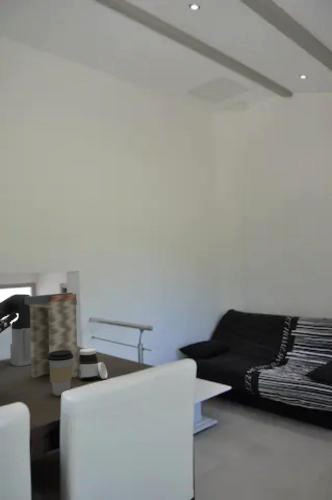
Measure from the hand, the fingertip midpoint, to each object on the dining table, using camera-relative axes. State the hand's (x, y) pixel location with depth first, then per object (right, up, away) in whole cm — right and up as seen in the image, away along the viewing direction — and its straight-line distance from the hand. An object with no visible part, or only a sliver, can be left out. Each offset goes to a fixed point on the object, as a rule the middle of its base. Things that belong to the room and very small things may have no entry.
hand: (10, 313), depth 162 cm
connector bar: (+11, +3, +13) cm, 18 cm away
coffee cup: (+21, -29, -5) cm, 36 cm away
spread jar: (+29, -29, +14) cm, 44 cm away
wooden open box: (+12, -29, +19) cm, 37 cm away
